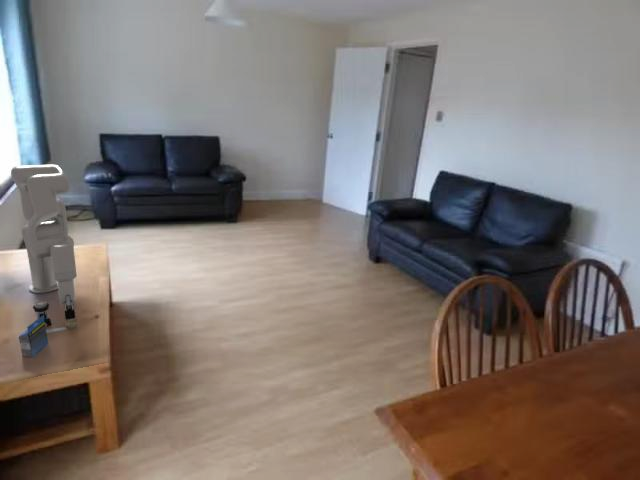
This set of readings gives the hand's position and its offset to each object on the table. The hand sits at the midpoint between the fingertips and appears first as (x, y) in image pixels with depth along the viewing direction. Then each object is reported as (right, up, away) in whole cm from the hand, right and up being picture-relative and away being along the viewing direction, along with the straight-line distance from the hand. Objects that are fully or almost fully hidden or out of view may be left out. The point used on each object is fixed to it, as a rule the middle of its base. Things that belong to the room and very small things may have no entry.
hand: (69, 312), depth 165 cm
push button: (-11, -6, +1) cm, 13 cm away
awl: (0, -6, +2) cm, 6 cm away
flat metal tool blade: (-4, -7, -1) cm, 8 cm away
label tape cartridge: (-4, -11, -14) cm, 18 cm away
